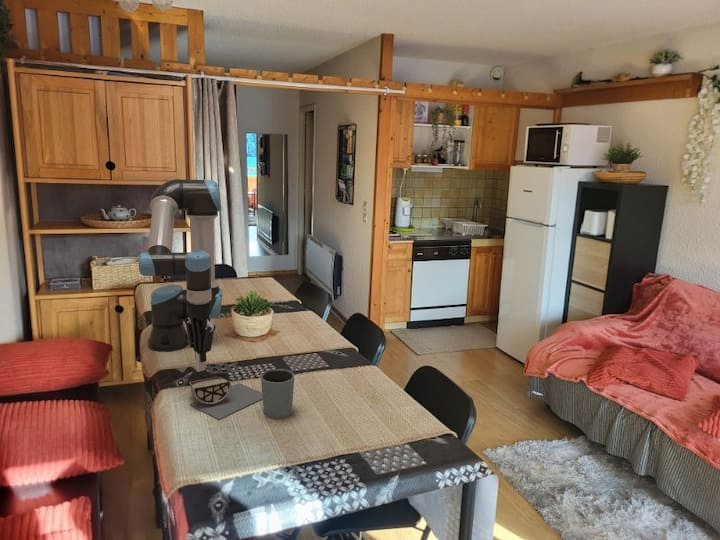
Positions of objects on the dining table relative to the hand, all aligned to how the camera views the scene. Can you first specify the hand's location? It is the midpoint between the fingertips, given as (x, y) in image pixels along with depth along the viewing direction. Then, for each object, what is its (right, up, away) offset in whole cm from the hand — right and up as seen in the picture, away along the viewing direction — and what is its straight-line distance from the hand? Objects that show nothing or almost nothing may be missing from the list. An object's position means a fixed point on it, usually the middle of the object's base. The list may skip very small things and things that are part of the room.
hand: (200, 369), depth 175 cm
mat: (+11, -9, -6) cm, 15 cm away
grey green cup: (+27, -11, -11) cm, 31 cm away
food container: (+2, -6, -2) cm, 6 cm away
